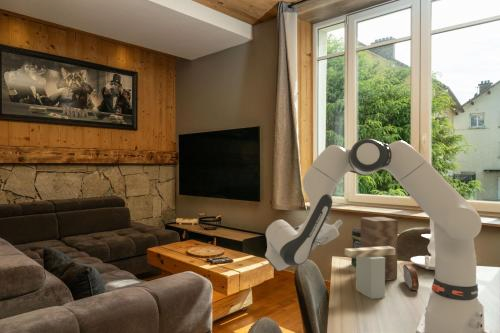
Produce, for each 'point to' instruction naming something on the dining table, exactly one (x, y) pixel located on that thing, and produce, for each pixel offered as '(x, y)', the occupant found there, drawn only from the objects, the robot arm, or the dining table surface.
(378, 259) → the pedestal
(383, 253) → the beech bar
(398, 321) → the dining table surface
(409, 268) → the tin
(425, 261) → the candlestick
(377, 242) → the tall stand
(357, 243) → the coffee jar
